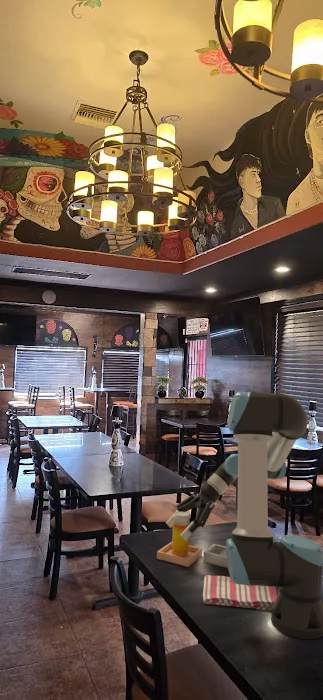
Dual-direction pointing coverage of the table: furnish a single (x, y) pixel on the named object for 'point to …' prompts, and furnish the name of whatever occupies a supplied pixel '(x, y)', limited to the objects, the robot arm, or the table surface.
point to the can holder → (216, 555)
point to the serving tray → (185, 561)
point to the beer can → (178, 527)
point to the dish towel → (237, 593)
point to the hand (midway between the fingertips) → (175, 531)
